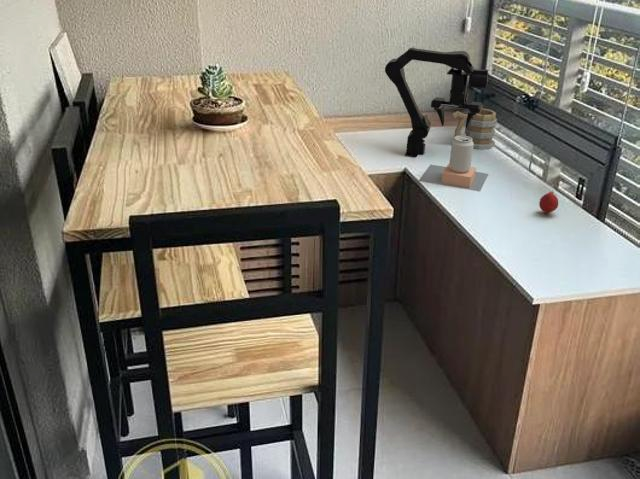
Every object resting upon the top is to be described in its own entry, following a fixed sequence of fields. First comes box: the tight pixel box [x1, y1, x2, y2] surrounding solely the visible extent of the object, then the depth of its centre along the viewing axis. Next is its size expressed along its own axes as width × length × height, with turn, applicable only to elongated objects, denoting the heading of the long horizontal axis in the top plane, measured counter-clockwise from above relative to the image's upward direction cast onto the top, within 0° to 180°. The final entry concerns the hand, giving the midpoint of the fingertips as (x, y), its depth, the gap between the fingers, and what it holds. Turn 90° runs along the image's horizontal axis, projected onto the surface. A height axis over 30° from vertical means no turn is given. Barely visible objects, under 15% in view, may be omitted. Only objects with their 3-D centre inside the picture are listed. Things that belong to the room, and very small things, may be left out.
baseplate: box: [418, 164, 489, 192], centre depth 234 cm, size 22×18×1 cm
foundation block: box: [441, 163, 477, 188], centre depth 231 cm, size 10×10×4 cm
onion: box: [538, 190, 559, 215], centre depth 209 cm, size 6×6×8 cm
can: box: [448, 135, 474, 173], centre depth 227 cm, size 8×8×12 cm
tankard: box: [451, 108, 498, 150], centre depth 266 cm, size 20×13×15 cm, turn 104°
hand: (454, 127), depth 248 cm, fingers open, 9 cm apart
